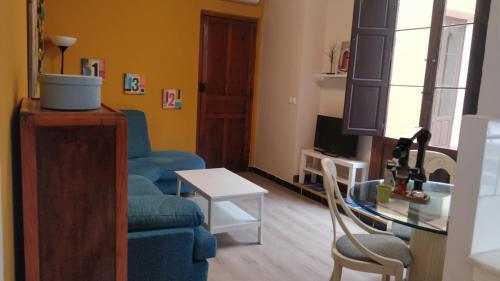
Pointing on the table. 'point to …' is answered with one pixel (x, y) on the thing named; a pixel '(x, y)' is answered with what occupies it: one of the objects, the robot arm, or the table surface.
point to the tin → (418, 194)
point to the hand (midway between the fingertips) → (401, 182)
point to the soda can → (401, 184)
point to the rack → (410, 197)
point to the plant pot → (383, 193)
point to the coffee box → (389, 173)
